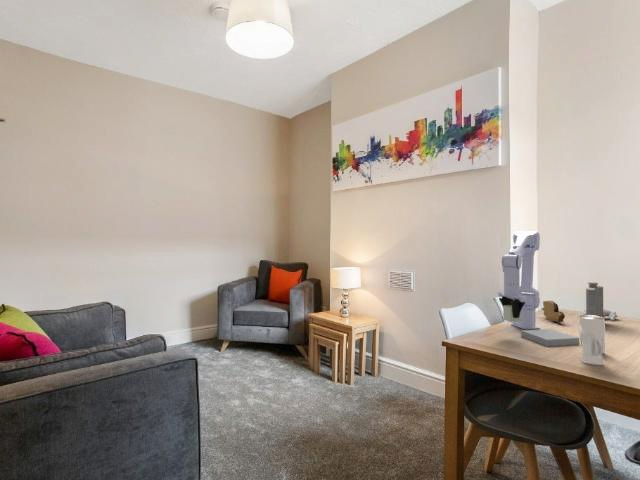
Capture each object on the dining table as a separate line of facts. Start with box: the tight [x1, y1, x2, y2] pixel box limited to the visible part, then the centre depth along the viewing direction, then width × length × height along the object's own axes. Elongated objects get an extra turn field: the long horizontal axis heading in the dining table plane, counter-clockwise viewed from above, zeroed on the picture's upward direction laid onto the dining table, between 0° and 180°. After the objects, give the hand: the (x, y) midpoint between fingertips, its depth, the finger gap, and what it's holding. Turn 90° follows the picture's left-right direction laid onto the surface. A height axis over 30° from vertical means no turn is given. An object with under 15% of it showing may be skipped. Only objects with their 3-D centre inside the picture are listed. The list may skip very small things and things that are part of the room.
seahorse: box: [578, 308, 619, 322], centre depth 180 cm, size 5×12×20 cm
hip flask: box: [585, 281, 604, 318], centre depth 170 cm, size 16×4×20 cm, turn 128°
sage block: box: [502, 305, 521, 323], centre depth 150 cm, size 4×4×6 cm
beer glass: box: [578, 314, 606, 366], centre depth 121 cm, size 7×7×15 cm
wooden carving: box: [541, 300, 566, 323], centre depth 178 cm, size 16×5×10 cm, turn 179°
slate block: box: [520, 328, 580, 347], centre depth 146 cm, size 14×14×3 cm
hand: (511, 316), depth 150 cm, fingers closed on sage block, 4 cm apart
